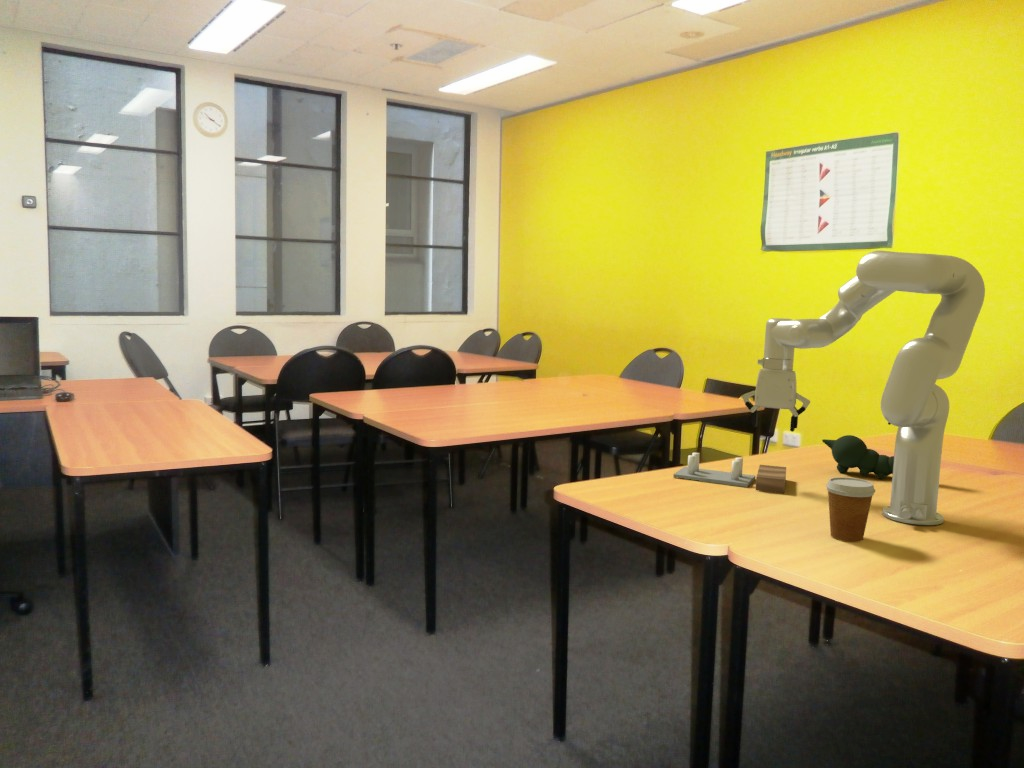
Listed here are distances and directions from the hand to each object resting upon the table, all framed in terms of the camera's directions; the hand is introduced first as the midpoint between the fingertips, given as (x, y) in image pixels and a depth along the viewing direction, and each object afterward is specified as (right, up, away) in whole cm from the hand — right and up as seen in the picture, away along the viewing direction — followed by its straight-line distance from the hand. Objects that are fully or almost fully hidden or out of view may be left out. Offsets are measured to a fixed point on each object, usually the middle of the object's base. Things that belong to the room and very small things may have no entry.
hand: (773, 428), depth 204 cm
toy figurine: (+32, -15, +15) cm, 38 cm away
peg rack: (-14, -14, +8) cm, 21 cm away
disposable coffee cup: (+1, -21, -43) cm, 48 cm away
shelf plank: (0, -16, +2) cm, 16 cm away
